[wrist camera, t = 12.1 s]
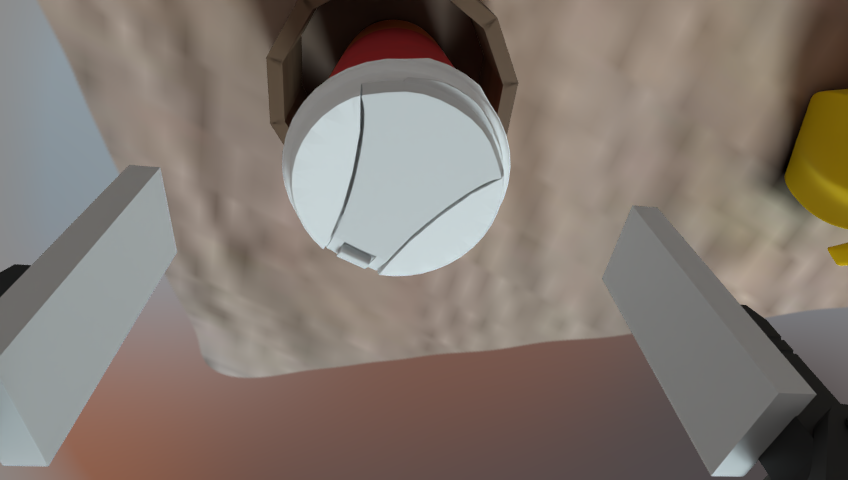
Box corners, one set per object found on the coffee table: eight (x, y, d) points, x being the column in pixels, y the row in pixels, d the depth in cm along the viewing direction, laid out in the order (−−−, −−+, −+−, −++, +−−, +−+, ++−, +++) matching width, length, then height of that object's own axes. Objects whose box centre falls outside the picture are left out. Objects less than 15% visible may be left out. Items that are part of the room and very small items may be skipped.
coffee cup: (416, 160, 32) (433, 316, 20) (300, 95, 30) (236, 230, 17) (492, 47, 29) (571, 152, 16) (368, -40, 26) (349, 8, 13)
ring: (285, -61, 25) (259, -53, 20) (511, -31, 27) (539, -18, 22) (292, 154, 32) (274, 200, 27) (473, 169, 33) (489, 215, 28)
